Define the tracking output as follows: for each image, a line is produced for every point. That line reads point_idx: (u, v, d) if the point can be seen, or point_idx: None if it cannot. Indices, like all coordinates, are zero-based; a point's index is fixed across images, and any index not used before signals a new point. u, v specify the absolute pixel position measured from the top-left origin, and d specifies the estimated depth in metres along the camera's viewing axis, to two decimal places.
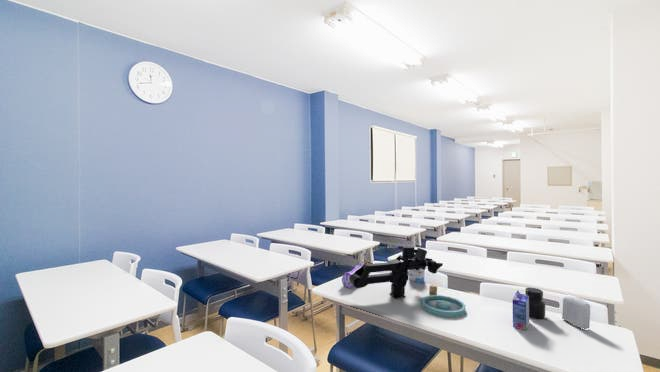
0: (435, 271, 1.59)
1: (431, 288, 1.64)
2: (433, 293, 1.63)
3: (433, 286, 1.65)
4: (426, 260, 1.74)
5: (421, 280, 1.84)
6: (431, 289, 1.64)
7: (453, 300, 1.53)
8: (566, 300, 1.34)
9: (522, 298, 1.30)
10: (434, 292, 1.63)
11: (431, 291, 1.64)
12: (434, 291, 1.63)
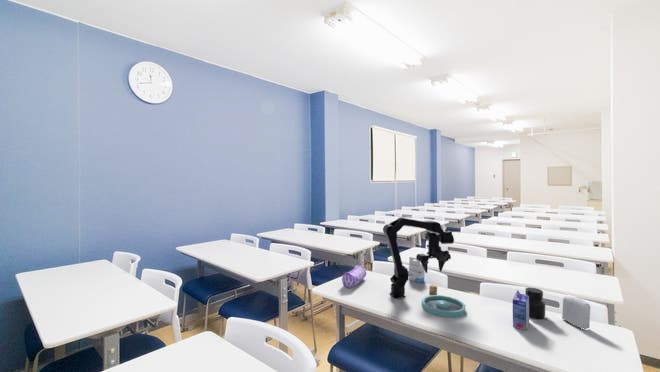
0: (417, 257, 1.64)
1: (431, 288, 1.64)
2: (433, 293, 1.63)
3: (433, 286, 1.65)
4: (440, 264, 1.66)
5: (421, 280, 1.84)
6: (431, 289, 1.64)
7: (453, 300, 1.53)
8: (566, 300, 1.34)
9: (522, 298, 1.30)
10: (434, 292, 1.63)
11: (431, 291, 1.64)
12: (434, 291, 1.63)
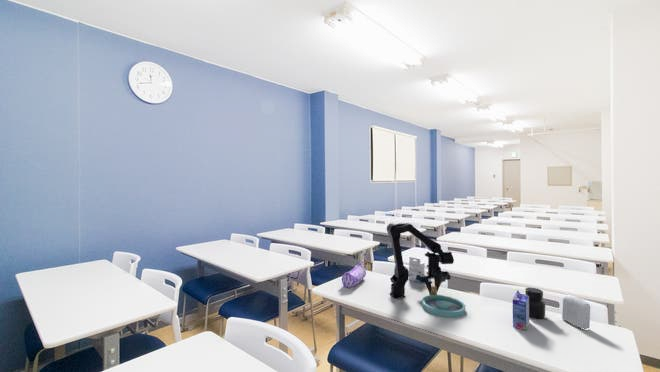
0: (416, 278, 1.64)
1: (431, 288, 1.64)
2: (433, 293, 1.63)
3: (433, 286, 1.65)
4: (436, 284, 1.66)
5: None
6: (431, 289, 1.64)
7: (453, 300, 1.53)
8: (566, 300, 1.34)
9: (522, 298, 1.30)
10: (434, 292, 1.63)
11: (431, 291, 1.64)
12: (434, 291, 1.63)
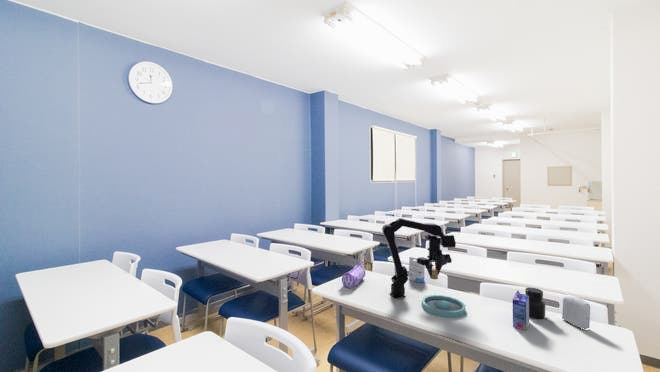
0: (417, 261, 1.61)
1: (432, 271, 1.61)
2: (434, 276, 1.60)
3: (434, 269, 1.62)
4: (437, 268, 1.63)
5: (421, 280, 1.84)
6: (432, 272, 1.61)
7: (453, 300, 1.53)
8: (566, 300, 1.34)
9: (522, 298, 1.30)
10: (435, 275, 1.60)
11: (432, 275, 1.61)
12: (435, 274, 1.60)
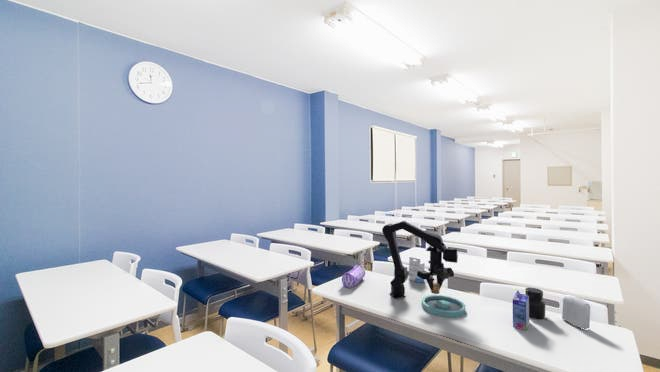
0: (417, 274, 1.53)
1: (433, 285, 1.53)
2: (435, 291, 1.52)
3: (435, 283, 1.54)
4: (439, 282, 1.55)
5: (421, 280, 1.84)
6: (433, 287, 1.53)
7: (453, 300, 1.53)
8: (566, 300, 1.34)
9: (522, 298, 1.30)
10: (436, 290, 1.52)
11: (433, 289, 1.53)
12: (436, 289, 1.52)
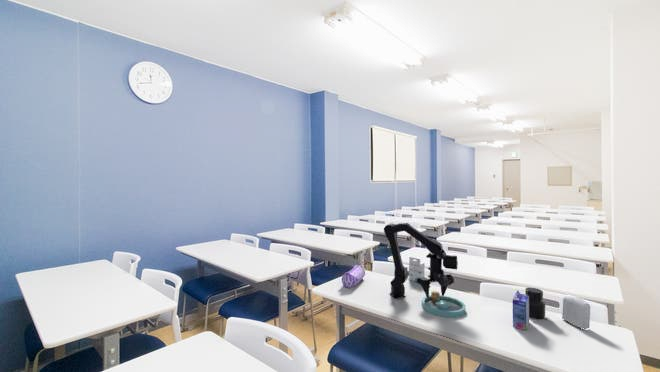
0: (417, 281, 1.53)
1: (433, 294, 1.53)
2: (435, 300, 1.52)
3: (435, 292, 1.54)
4: (443, 288, 1.55)
5: None
6: (433, 296, 1.53)
7: (453, 300, 1.53)
8: (566, 300, 1.34)
9: (522, 298, 1.30)
10: (436, 299, 1.52)
11: (433, 298, 1.53)
12: (436, 298, 1.52)
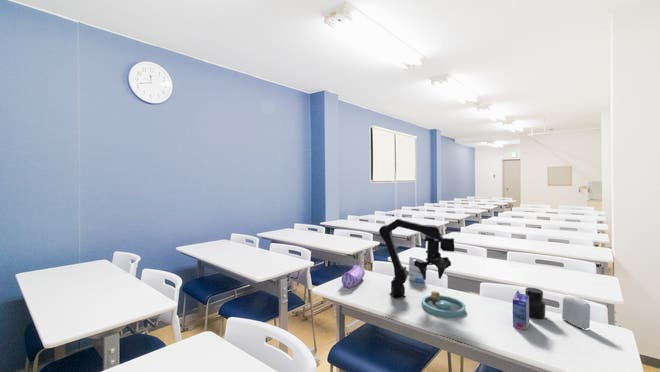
0: (415, 264, 1.55)
1: (433, 294, 1.53)
2: (435, 300, 1.52)
3: (435, 292, 1.54)
4: (440, 271, 1.58)
5: (421, 280, 1.84)
6: (433, 295, 1.53)
7: (453, 300, 1.53)
8: (566, 300, 1.34)
9: (522, 298, 1.30)
10: (436, 299, 1.52)
11: (433, 298, 1.53)
12: (436, 298, 1.52)
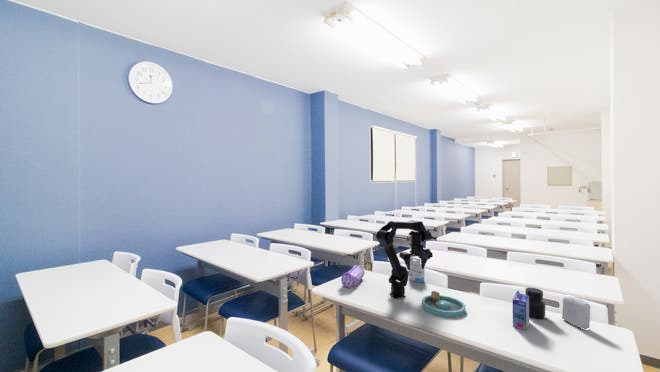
0: (399, 255, 1.70)
1: (433, 294, 1.53)
2: (435, 300, 1.52)
3: (435, 292, 1.54)
4: (422, 262, 1.72)
5: (421, 280, 1.84)
6: (433, 295, 1.53)
7: (453, 300, 1.53)
8: (566, 300, 1.34)
9: (522, 298, 1.30)
10: (436, 299, 1.52)
11: (433, 298, 1.53)
12: (436, 298, 1.52)
